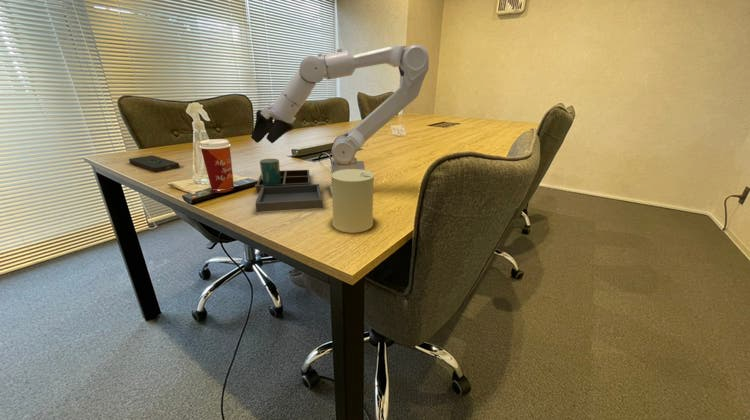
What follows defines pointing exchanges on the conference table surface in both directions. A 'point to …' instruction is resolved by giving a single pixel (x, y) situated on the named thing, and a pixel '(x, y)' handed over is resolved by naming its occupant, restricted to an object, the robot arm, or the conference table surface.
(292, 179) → the cup rack
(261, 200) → the tray
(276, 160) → the teal cup
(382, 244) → the conference table surface
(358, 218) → the can
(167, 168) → the smart home device
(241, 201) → the conference table surface
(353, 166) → the robot arm
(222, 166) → the paper cup
